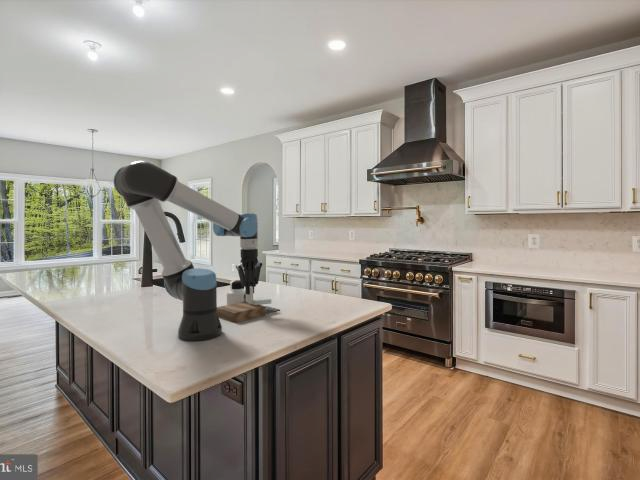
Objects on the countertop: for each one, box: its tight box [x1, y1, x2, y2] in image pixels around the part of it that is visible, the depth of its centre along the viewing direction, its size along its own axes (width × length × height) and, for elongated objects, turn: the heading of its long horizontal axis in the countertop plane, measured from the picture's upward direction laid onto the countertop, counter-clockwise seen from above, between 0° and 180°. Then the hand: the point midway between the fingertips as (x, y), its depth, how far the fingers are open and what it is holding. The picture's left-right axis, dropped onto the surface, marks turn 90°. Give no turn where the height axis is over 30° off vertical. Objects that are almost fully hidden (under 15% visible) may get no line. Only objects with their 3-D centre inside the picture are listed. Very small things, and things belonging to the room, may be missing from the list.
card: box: [247, 297, 272, 306], centre depth 164 cm, size 9×6×2 cm, turn 137°
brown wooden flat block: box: [217, 301, 266, 324], centre depth 157 cm, size 16×14×4 cm
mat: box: [264, 305, 281, 314], centre depth 166 cm, size 10×10×1 cm
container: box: [226, 279, 247, 305], centre depth 171 cm, size 8×8×13 cm
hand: (250, 301), depth 160 cm, fingers closed
